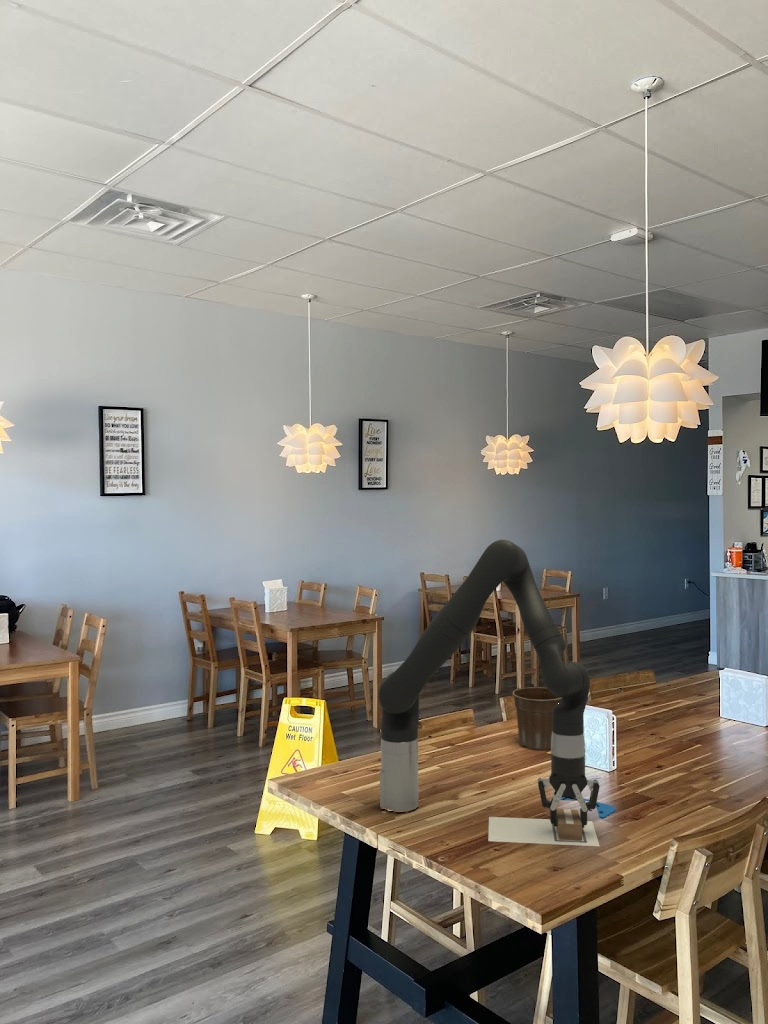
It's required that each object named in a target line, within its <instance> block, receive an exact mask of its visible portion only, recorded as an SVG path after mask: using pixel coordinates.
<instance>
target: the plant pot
mask: <svg viewBox="0 0 768 1024" xmlns="http://www.w3.org/2000/svg"><path fill="white" fill-rule="evenodd" d="M512 696H513V697H514V698H513V699H514V706H515V711H516V719H517V729H518V730H517V731H518V742H519V745H520V744H521V745H522V746H521V745H520V746H521V747H526V748H527V749H529V748H530V749H532V750H535V751H536V750H537V751H545V750H546V751H548V750H549V751H550V750H551V737H552V711H553V708H554V707H555V706H556V705H558V703H560V701H561V699H562V697H557V696H555V695H553V694H552V693H551V692H550V691H549V690H548V689H547V687H540V686H539V687H538V686H533V687H532V686H531V687H520V688H517V689H514V690H513V691H512ZM530 749H529V750H530Z"/></svg>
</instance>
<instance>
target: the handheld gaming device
mask: <svg viewBox="0 0 768 1024" xmlns="http://www.w3.org/2000/svg"><path fill="white" fill-rule="evenodd" d="M560 801H568V802H569V801H574V802H575V801H577V802H578V800H577V797H576V798H571V797H561V799H560ZM584 801H585V802H589V799H587V798H584ZM595 809H596V810H597V811H596V812H597V814H598V817H599V819H600V818H601V819H602V820H605V819H606V818H608V817H609V816H611V815H612V814H614V813H615V812H616V811H615V810H616V807H615V806H614V805H611V804H606V803H604V802H599V801H597V803H596V808H595ZM588 811H589V812H593V809H590V810H588ZM613 812H614V813H613ZM610 814H611V815H610ZM607 816H608V817H607ZM604 818H605V819H604Z"/></svg>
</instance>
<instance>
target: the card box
mask: <svg viewBox="0 0 768 1024" xmlns="http://www.w3.org/2000/svg"><path fill="white" fill-rule="evenodd" d="M556 810H557V832H558V837H559V840H577V841H582V823H581V820H580V811H579V809H569V808H568V809H567V808H556Z"/></svg>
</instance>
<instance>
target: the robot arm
mask: <svg viewBox="0 0 768 1024" xmlns="http://www.w3.org/2000/svg"><path fill="white" fill-rule="evenodd" d="M502 583H503V584H504V585H505V586H506V588H507V589H508V591H509V592H510V594H511V595H512V597H513V599H514V601H515V603H516V605H517V608H518V611H519V614H520V617H521V621H522V625H523V627H524V630H525V632H526V634H527V636H528V638H529V640H530V643H531V645H532V646H533V648H534V651H535V652H536V655H537V658H538V663H539V668H540V671H541V677H542V681H543V683H544V685H545V688H547V689H548V690H549V691H550V692H551V693H552V694H553V695H555V696H557V697H562V699H561V701H560V703H559V704H558V705H556V706H555V707H554V708H553V711H552V737H551V749H550V759H551V760H550V776H549V777H547V778H542V777H538V778H537V785H538V786H537V787H538V791H539V797H540V801H541V805H542V807H543V808H547V809H548V810H549V819H550V822H551V824H553V826H554V827H557V810H556V809H557V807H558V805H559V802H560V801H561V800H560V799H561V797H571V798H576V797H577V800H578V801H577V802H578V803H579V806H580V808H579V809H580V810H579V816H580V820H581V823H582V828H584V825H587V821H588V811H589V810H596V809H597V808H596V803H597V802H598V801H597V800H598V796H599V791H600V786H601V785H600V783H599V780H597V779H593V780H591V779H587V776H586V742H585V733H584V731H585V730H584V729H585V728H584V725H585V723H584V720H585V719H584V713H585V709H586V706H587V703H588V697H589V693H590V685H591V679H590V675H589V674H590V673H589V672H588V669H587V668H586V667H585V666H584V665H583V664H582V663H580V662H578V661H572V662H571V661H570V662H568V663H564V661H563V657H562V654H563V653H564V652H565V651H566V649H567V643H566V640H565V639H564V636H563V634H562V633H561V631H560V629H559V627H558V625H557V624H556V622H555V620H554V618H553V616H552V614H551V612H550V611H549V609H548V606H547V605H546V603H545V601H544V599H543V597H542V594H541V593H540V590H539V588H538V584H537V583H536V581H535V578H534V575H533V572H532V569H531V565H530V562H529V559H528V557H527V554H526V552H525V550H524V549H523V548H522V547H520V546H519V545H517V544H515V543H514V542H512V541H510V540H508V539H499V540H495V541H493V542H492V543H490V544H489V545H488V546H487V547H486V548H485V550H484V551H483V553H482V554H481V556H480V557H479V559H478V561H477V562H476V563H475V565H474V567H473V568H472V570H471V571H470V572H469V575H467V578H465V580H464V581H463V582H462V584H461V585H460V586H459V587H458V588H457V590H456V591H455V592H454V593H453V594H452V595H451V597H450V598H449V599H448V601H447V602H446V603H445V604H444V605H443V607H441V609H440V610H439V611H438V612H437V614H435V616H434V617H433V618H432V620H431V621H430V623H429V624H428V625H427V626H426V628H425V630H424V631H423V632H422V634H421V636H420V637H419V639H418V640H417V642H416V645H415V646H414V647H413V649H412V651H411V652H410V653H409V655H408V656H407V658H406V659H405V660H404V661H403V662H402V664H401V665H400V666H398V668H396V670H395V671H392V672H391V673H390V674H388V675H387V676H386V677H385V678H384V679H383V681H382V682H381V684H380V686H379V690H378V702H379V704H380V706H381V708H382V717H381V719H382V720H381V725H380V764H381V765H380V770H379V808H380V807H383V808H387V809H389V810H393V811H408V810H413V809H416V808H417V807H418V808H419V725H420V724H419V721H420V693H421V692H422V691H423V689H424V687H425V686H426V685H427V682H429V680H430V679H431V677H432V676H433V675H434V674H435V673H436V672H437V671H438V670H439V669H440V668H441V667H442V666H443V665H444V664H445V663H446V662H447V661H448V660H449V659H450V658H451V657H452V656H453V655H454V654H455V653H456V652H457V650H458V649H459V648H460V647H461V646H462V644H463V643H464V642H466V639H467V638H468V637H469V636H470V635H471V633H472V632H473V631H474V630H475V627H476V626H477V624H478V622H479V619H480V617H481V614H482V612H483V609H484V607H485V604H486V603H487V601H488V599H489V598H490V596H492V593H494V592H495V590H496V589H497V588H498V587H499V585H500V584H502ZM548 785H550V786H551V788H553V789H554V791H553V793H552V797H551V799H550V800H548V799H547V794H546V790H548ZM587 786H588V789H589V791H590V795H589V799H588V800H589V801H584V799H585V798H584V796H583V794H582V792H583V790H585V788H586V787H587ZM418 808H417V809H418ZM417 809H416V810H417Z"/></svg>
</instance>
